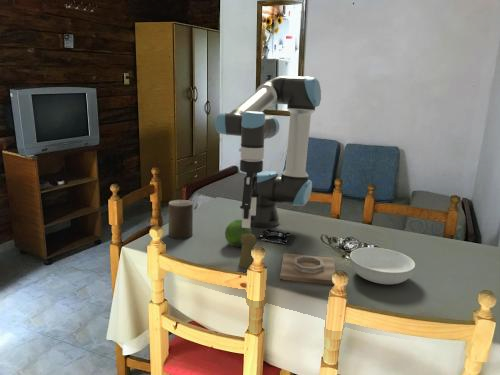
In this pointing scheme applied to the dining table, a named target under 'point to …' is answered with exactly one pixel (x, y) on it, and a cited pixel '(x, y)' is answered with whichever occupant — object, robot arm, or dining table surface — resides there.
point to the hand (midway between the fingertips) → (249, 221)
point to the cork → (247, 250)
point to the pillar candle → (180, 219)
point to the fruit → (236, 233)
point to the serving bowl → (381, 265)
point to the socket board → (307, 268)
